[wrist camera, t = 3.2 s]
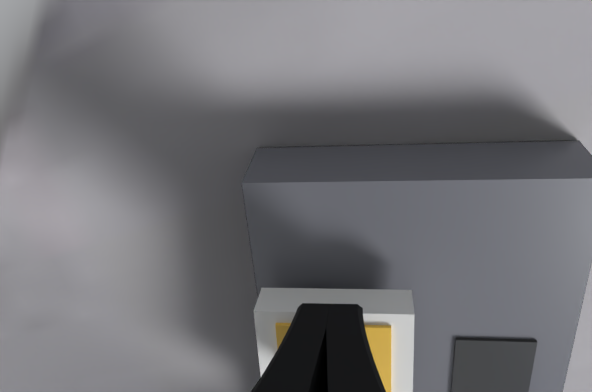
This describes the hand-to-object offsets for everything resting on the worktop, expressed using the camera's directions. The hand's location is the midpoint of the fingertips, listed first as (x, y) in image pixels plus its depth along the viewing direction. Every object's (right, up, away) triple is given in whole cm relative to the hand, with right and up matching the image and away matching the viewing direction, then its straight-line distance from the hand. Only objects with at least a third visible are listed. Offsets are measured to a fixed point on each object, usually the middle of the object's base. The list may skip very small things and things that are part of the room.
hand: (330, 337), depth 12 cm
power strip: (+3, -5, +7) cm, 9 cm away
